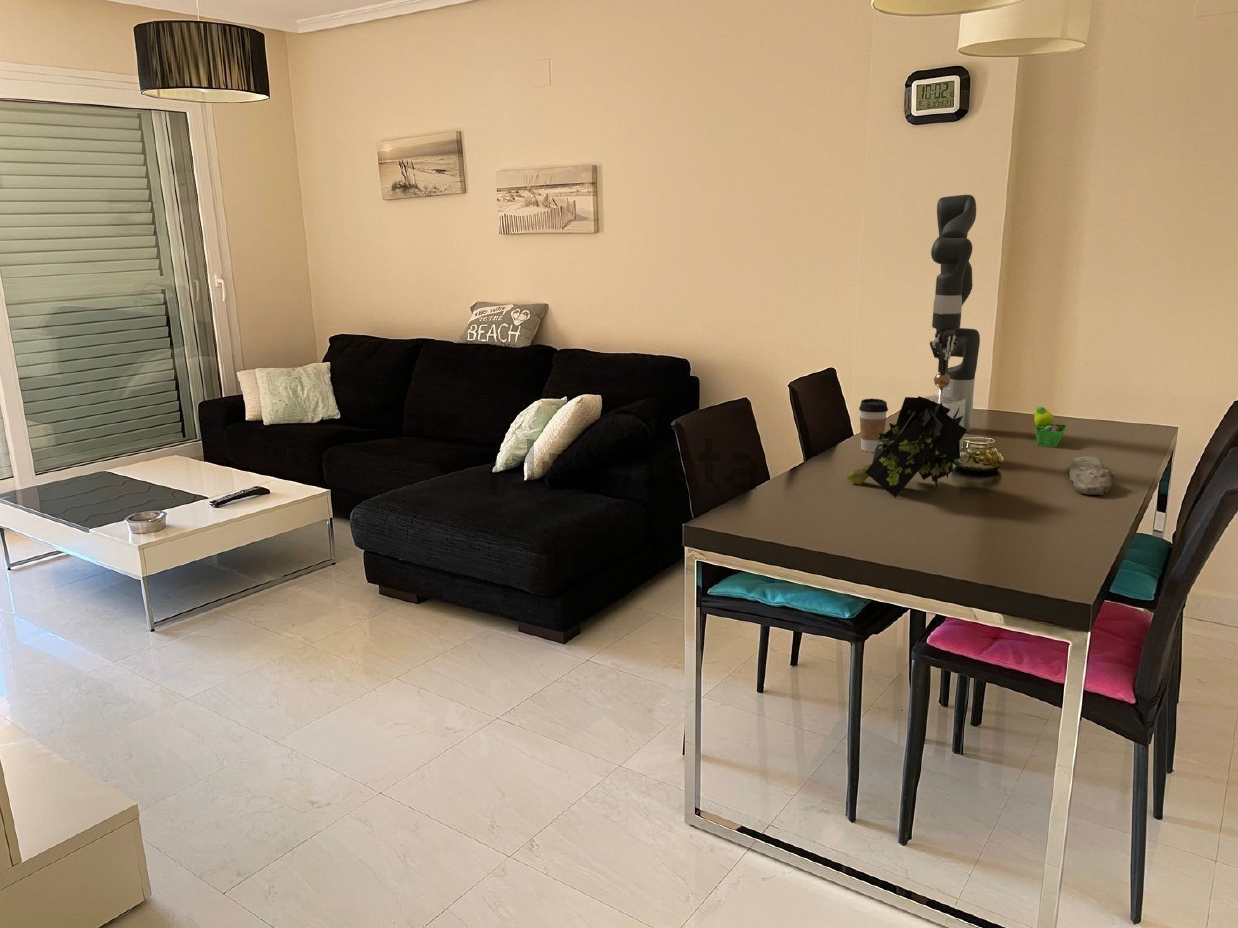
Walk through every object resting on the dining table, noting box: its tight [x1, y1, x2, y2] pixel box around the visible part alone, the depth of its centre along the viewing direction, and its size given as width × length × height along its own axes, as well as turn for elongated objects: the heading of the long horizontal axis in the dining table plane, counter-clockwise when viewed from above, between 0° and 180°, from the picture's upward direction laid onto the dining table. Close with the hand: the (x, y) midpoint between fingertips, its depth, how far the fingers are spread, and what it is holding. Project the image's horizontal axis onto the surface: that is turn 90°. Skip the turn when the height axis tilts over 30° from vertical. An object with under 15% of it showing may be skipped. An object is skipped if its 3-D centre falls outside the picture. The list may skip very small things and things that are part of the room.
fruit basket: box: [1033, 406, 1067, 448], centre depth 280 cm, size 11×9×11 cm
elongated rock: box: [1067, 455, 1115, 496], centre depth 241 cm, size 35×5×10 cm
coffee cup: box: [858, 398, 889, 453], centre depth 274 cm, size 8×8×15 cm
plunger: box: [933, 372, 950, 400], centre depth 263 cm, size 7×7×22 cm
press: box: [923, 394, 966, 449], centre depth 265 cm, size 10×10×17 cm
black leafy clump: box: [846, 396, 967, 498], centre depth 232 cm, size 21×22×30 cm
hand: (942, 372), depth 261 cm, fingers closed
